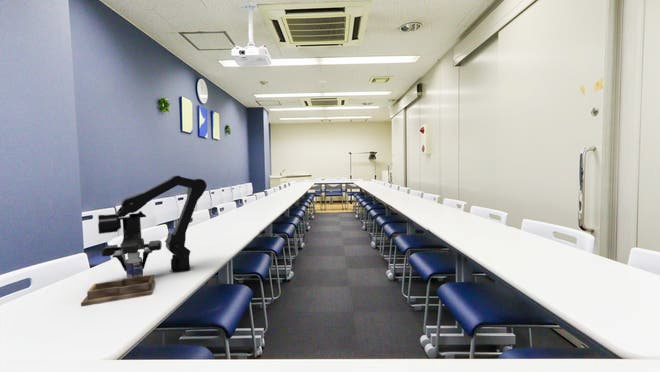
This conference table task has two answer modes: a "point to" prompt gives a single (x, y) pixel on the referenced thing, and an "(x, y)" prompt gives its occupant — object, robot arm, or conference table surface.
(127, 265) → the pill bottle
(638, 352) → the conference table surface
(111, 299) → the keyhole track
